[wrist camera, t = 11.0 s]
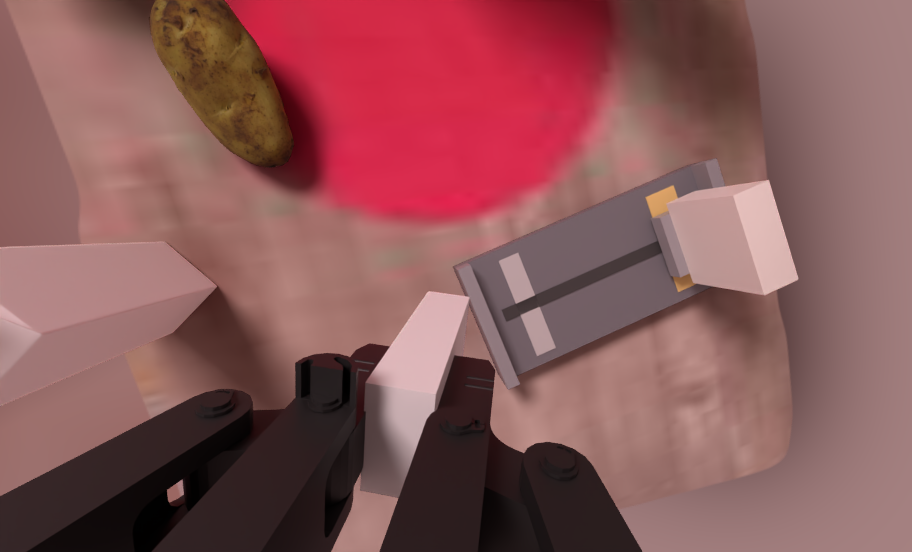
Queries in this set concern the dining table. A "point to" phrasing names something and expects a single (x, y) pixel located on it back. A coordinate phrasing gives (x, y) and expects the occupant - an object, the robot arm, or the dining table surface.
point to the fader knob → (727, 239)
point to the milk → (87, 307)
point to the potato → (223, 77)
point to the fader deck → (579, 276)
